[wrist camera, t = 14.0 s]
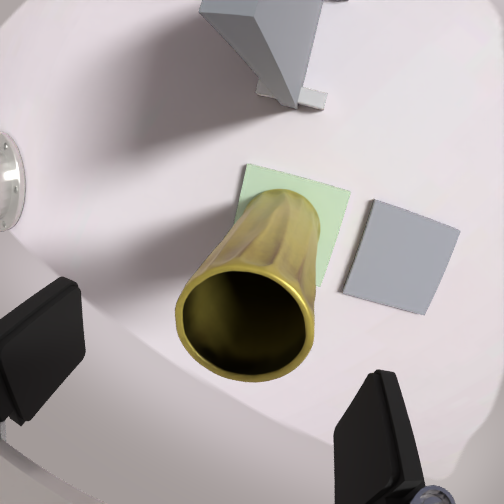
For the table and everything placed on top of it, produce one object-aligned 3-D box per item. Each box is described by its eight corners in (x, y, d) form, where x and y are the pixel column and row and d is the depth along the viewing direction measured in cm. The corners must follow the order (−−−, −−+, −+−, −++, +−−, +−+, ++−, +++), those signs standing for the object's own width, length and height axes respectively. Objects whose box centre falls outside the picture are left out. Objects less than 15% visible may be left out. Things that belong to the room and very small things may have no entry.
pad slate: (342, 290, 26) (343, 293, 25) (374, 199, 23) (375, 200, 22) (422, 312, 25) (424, 315, 25) (458, 229, 22) (460, 231, 22)
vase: (226, 234, 25) (140, 333, 12) (271, 171, 23) (215, 213, 10) (288, 278, 26) (261, 412, 12) (336, 220, 23) (363, 321, 10)
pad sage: (227, 258, 27) (225, 260, 26) (248, 163, 24) (247, 164, 23) (320, 284, 26) (320, 287, 25) (349, 191, 23) (350, 192, 23)
